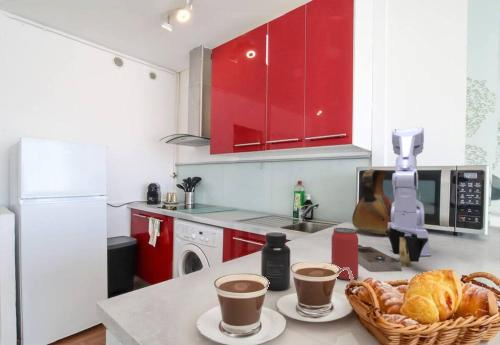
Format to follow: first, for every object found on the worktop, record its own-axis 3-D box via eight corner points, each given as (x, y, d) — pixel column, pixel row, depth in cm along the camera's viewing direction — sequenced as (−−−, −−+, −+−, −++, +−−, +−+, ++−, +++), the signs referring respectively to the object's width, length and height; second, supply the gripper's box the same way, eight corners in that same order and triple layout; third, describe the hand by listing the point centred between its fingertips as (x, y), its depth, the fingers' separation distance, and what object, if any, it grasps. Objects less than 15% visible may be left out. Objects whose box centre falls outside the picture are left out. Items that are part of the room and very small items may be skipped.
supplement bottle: (266, 278, 68) (267, 230, 68) (293, 282, 65) (293, 232, 65) (256, 288, 61) (257, 235, 61) (285, 293, 59) (286, 238, 59)
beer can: (355, 282, 65) (355, 233, 65) (328, 277, 68) (328, 230, 69) (360, 274, 70) (360, 229, 71) (335, 269, 74) (335, 226, 74)
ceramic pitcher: (404, 233, 126) (404, 169, 126) (391, 240, 111) (391, 168, 112) (362, 227, 139) (362, 170, 140) (345, 233, 125) (345, 168, 125)
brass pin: (406, 263, 81) (406, 236, 81) (413, 266, 78) (413, 238, 78) (397, 263, 80) (397, 236, 81) (403, 266, 77) (403, 238, 78)
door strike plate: (335, 248, 97) (335, 239, 97) (359, 248, 98) (359, 239, 98) (370, 271, 73) (370, 260, 73) (401, 270, 74) (401, 259, 74)
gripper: (378, 208, 86) (378, 250, 86) (408, 214, 72) (408, 265, 72) (399, 208, 87) (399, 250, 86) (433, 214, 72) (433, 265, 72)
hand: (405, 257), depth 79 cm, fingers open, 7 cm apart
